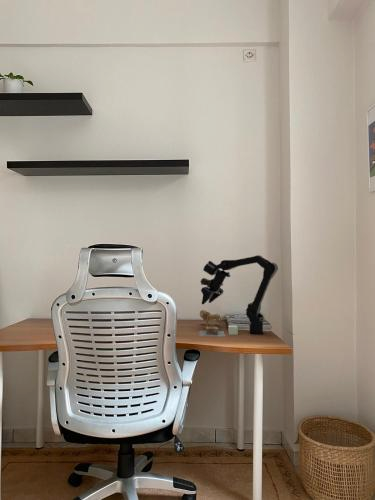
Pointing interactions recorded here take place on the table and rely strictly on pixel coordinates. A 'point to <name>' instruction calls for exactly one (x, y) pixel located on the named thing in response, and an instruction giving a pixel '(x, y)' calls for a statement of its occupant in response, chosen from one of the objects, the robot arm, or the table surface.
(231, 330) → the sage cube
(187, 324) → the table surface
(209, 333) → the walnut block
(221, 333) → the slate pad
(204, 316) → the lion figurine
